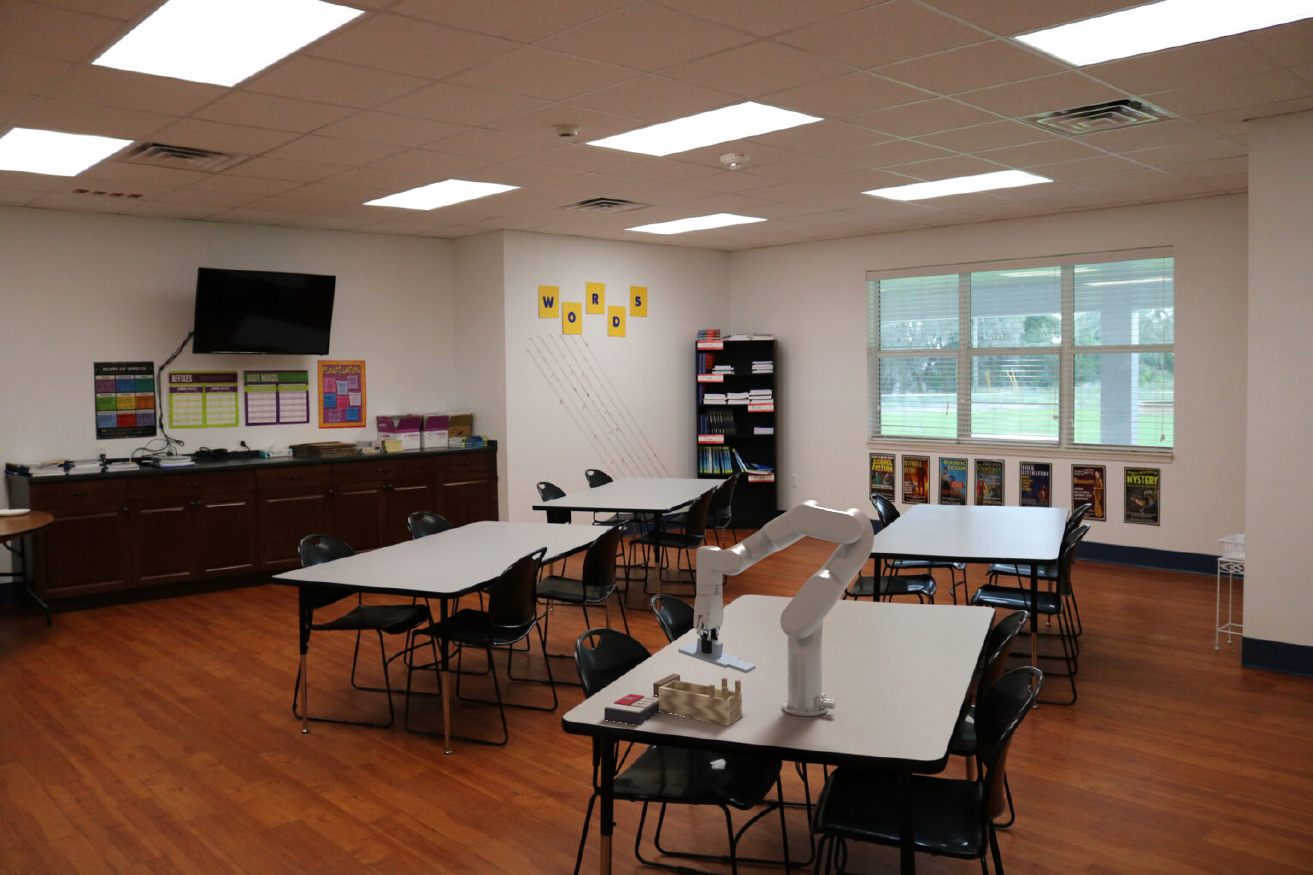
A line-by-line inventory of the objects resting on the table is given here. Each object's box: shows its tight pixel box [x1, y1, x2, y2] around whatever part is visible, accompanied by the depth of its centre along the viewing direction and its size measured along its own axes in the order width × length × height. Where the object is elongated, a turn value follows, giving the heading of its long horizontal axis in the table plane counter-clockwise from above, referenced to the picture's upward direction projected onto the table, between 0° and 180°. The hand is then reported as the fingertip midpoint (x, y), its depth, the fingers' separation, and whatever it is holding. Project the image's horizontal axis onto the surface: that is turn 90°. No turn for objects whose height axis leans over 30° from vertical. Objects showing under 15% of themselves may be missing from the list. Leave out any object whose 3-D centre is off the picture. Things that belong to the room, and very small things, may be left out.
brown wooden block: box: [652, 673, 681, 696], centre depth 278 cm, size 2×11×4 cm, turn 146°
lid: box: [677, 637, 756, 674], centre depth 268 cm, size 22×8×5 cm, turn 57°
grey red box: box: [603, 693, 660, 726], centre depth 258 cm, size 11×4×15 cm
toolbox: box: [658, 677, 743, 727], centre depth 257 cm, size 22×8×10 cm, turn 57°
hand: (709, 651), depth 270 cm, fingers closed on lid, 2 cm apart
